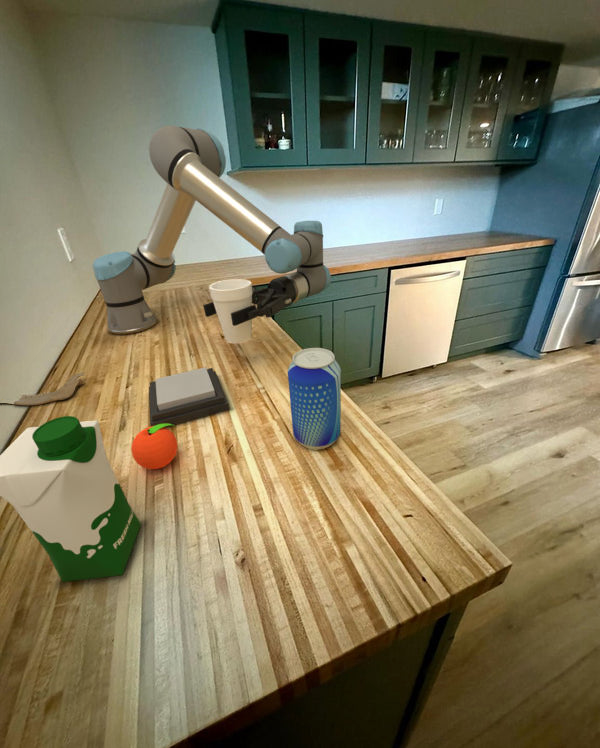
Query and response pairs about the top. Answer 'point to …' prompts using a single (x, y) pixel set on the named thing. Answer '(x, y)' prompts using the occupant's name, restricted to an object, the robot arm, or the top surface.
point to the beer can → (315, 397)
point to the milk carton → (70, 498)
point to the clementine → (154, 446)
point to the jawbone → (52, 393)
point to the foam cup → (232, 307)
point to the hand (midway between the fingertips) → (218, 315)
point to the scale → (188, 405)
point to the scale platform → (183, 388)
